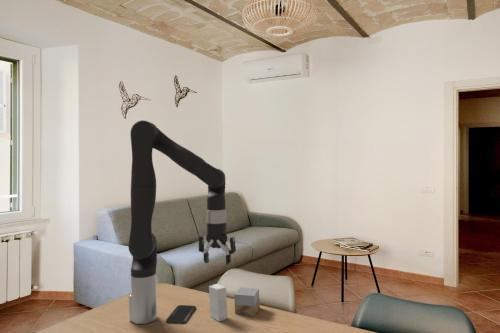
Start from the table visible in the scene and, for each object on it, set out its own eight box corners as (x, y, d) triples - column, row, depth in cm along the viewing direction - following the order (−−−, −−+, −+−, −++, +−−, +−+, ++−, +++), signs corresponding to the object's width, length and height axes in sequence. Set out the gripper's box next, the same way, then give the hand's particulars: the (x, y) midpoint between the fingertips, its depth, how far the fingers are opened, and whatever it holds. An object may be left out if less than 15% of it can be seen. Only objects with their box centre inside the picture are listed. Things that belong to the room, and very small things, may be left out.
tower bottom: (234, 314, 143) (234, 304, 143) (241, 306, 150) (240, 296, 150) (254, 316, 141) (254, 306, 141) (259, 308, 148) (259, 298, 148)
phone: (196, 305, 149) (185, 321, 135) (196, 308, 149) (185, 324, 135) (178, 305, 150) (164, 320, 136) (178, 307, 150) (164, 323, 136)
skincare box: (227, 318, 138) (227, 287, 138) (218, 322, 136) (217, 289, 135) (218, 313, 143) (218, 282, 143) (209, 316, 140) (208, 285, 140)
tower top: (234, 304, 143) (234, 294, 142) (240, 297, 150) (240, 287, 150) (254, 306, 141) (254, 295, 140) (259, 298, 148) (259, 288, 148)
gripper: (195, 222, 137) (196, 265, 137) (231, 223, 133) (231, 267, 133) (203, 219, 144) (203, 259, 145) (237, 220, 140) (238, 262, 141)
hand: (217, 263), depth 139 cm, fingers open, 8 cm apart
